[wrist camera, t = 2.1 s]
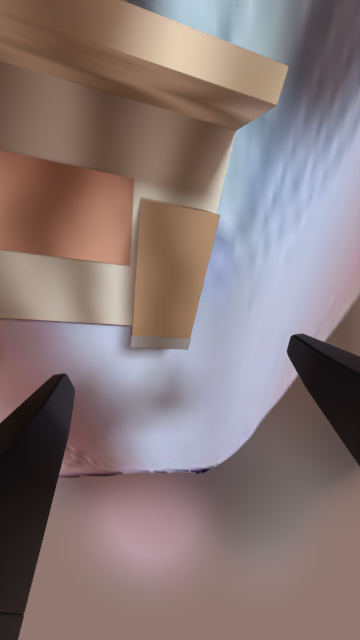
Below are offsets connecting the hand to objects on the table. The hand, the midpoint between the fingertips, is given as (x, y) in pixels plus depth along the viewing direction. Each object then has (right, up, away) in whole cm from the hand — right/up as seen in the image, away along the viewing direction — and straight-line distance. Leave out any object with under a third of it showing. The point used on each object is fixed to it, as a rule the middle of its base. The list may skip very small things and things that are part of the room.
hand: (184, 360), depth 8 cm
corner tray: (-7, +9, +7) cm, 13 cm away
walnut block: (-2, +6, +9) cm, 11 cm away
